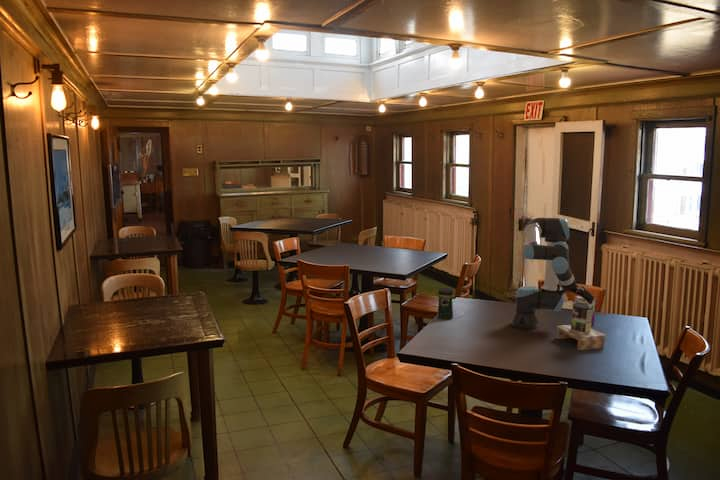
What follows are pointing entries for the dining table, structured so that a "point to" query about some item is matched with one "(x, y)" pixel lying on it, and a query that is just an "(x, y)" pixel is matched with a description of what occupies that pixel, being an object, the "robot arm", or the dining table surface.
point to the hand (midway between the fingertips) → (578, 303)
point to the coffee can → (581, 318)
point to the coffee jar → (445, 303)
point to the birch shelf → (582, 337)
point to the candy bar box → (582, 300)
